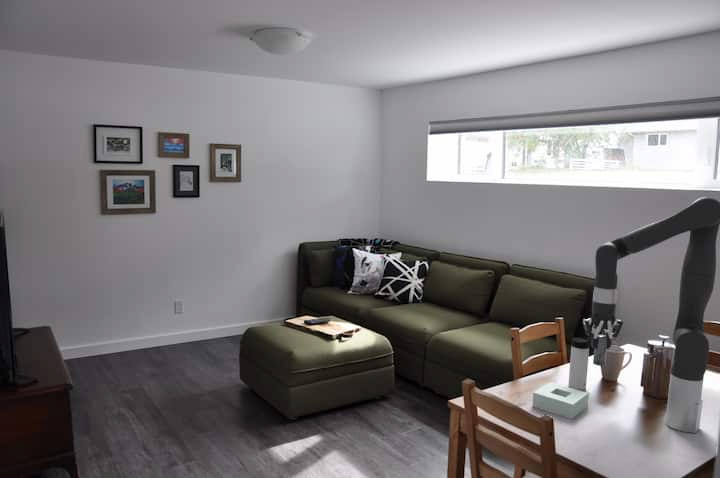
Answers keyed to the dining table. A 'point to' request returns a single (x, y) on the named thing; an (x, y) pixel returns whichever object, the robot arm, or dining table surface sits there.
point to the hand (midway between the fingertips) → (600, 348)
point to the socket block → (560, 400)
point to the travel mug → (579, 363)
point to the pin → (600, 351)
